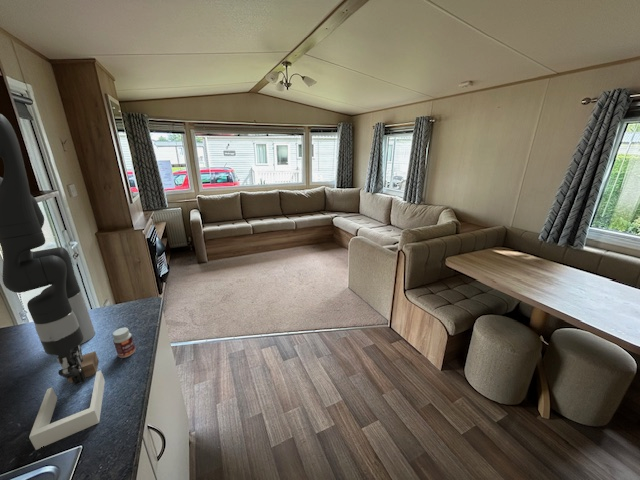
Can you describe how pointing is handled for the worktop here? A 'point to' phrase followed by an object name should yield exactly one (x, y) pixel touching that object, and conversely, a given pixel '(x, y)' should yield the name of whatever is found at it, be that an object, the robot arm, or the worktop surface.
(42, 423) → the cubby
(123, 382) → the worktop surface
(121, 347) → the pill bottle
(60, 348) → the robot arm
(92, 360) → the walnut block
